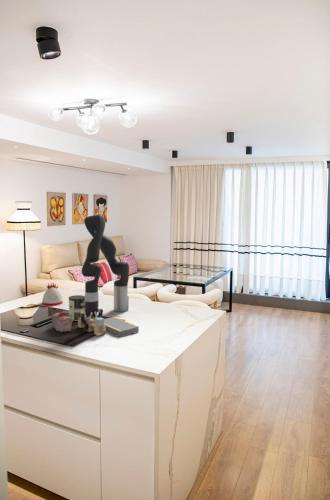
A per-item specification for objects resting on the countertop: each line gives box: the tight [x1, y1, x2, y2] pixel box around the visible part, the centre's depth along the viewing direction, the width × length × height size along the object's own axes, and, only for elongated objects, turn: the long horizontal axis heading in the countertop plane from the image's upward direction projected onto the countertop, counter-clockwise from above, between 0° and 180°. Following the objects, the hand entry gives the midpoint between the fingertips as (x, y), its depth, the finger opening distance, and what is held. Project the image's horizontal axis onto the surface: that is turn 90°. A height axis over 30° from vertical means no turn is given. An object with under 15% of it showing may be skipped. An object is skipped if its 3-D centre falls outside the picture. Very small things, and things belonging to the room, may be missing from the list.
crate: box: [94, 317, 105, 326], centre depth 200 cm, size 4×4×4 cm
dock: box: [104, 316, 140, 337], centre depth 211 cm, size 13×24×3 cm, turn 43°
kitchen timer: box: [41, 282, 63, 307], centre depth 263 cm, size 14×14×15 cm
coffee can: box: [68, 294, 85, 322], centre depth 227 cm, size 10×10×14 cm
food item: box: [51, 311, 73, 333], centre depth 207 cm, size 14×8×10 cm, turn 44°
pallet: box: [77, 318, 107, 337], centre depth 207 cm, size 6×20×5 cm, turn 43°
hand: (91, 328), depth 207 cm, fingers closed on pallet, 5 cm apart
